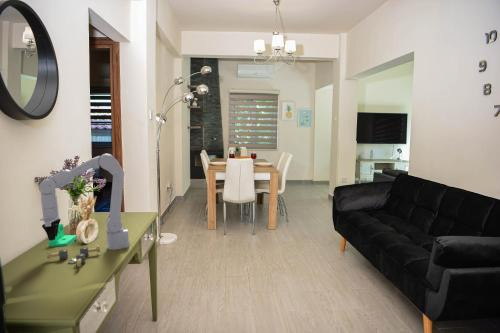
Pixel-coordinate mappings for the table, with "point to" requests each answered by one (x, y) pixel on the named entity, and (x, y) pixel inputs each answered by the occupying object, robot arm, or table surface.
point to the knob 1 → (59, 254)
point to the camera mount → (62, 238)
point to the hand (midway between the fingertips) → (53, 238)
